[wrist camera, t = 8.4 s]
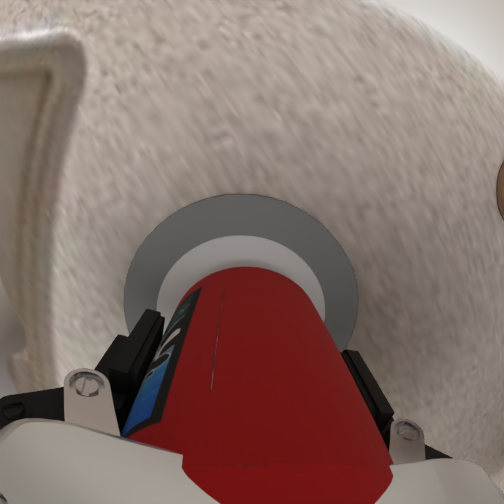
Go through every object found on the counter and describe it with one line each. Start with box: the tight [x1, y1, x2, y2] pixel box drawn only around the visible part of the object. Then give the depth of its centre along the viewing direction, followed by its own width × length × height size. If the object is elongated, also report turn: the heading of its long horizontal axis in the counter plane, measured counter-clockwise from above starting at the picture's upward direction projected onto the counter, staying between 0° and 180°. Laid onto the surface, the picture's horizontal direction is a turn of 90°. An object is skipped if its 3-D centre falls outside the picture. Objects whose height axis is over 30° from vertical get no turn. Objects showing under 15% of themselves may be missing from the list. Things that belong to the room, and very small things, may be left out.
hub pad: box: [124, 194, 358, 352], centre depth 15 cm, size 12×12×1 cm
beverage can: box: [121, 266, 394, 504], centre depth 8 cm, size 7×7×12 cm
